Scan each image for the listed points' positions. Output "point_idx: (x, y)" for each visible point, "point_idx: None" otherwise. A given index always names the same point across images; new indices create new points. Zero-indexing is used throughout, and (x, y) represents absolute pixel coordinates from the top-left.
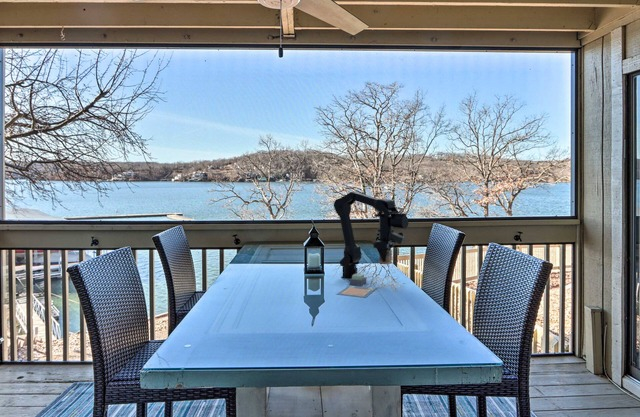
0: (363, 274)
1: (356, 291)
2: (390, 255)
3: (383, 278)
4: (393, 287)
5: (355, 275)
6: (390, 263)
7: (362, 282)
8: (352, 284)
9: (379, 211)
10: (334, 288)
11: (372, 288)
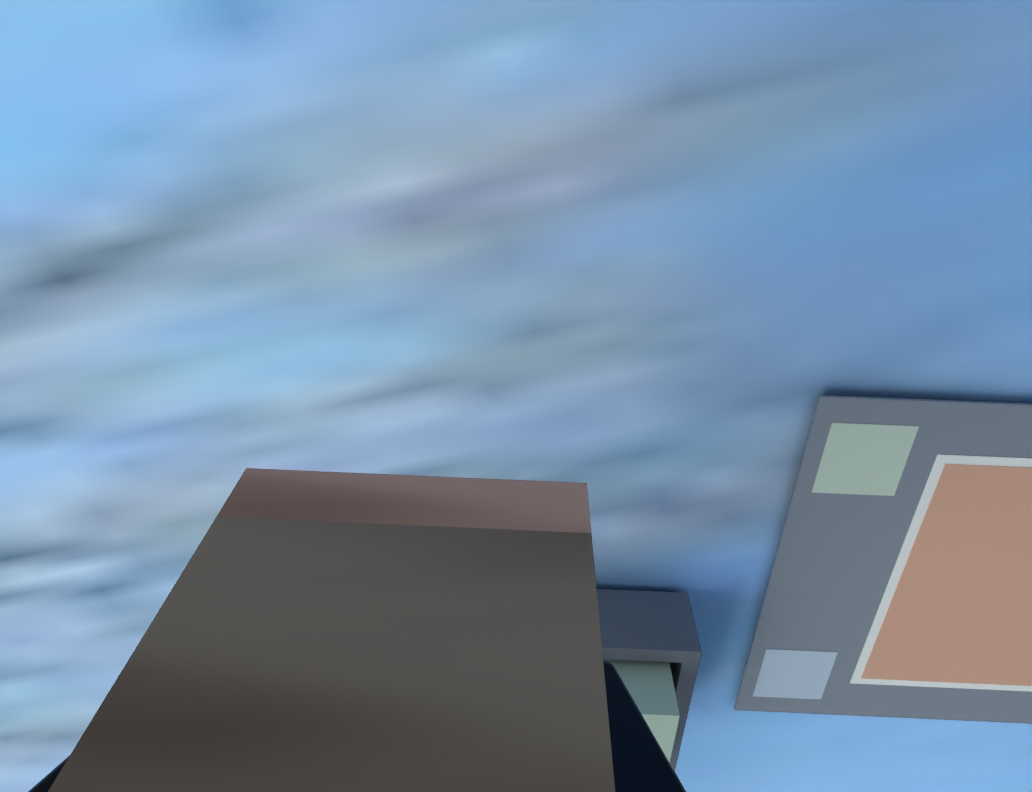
0: None
1: (1029, 586)
2: (338, 734)
3: (118, 435)
4: (633, 148)
5: None
6: (406, 478)
7: (678, 623)
8: None
9: None
10: (863, 785)
11: (835, 446)
